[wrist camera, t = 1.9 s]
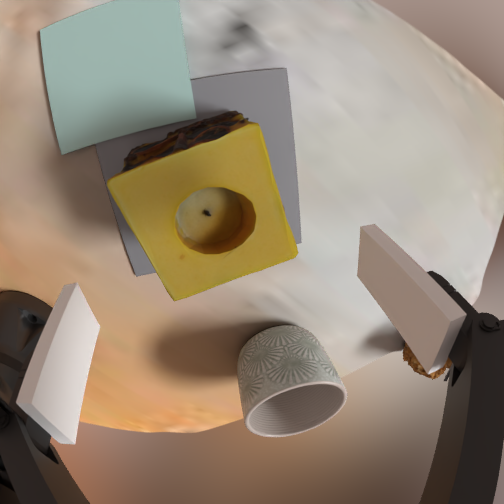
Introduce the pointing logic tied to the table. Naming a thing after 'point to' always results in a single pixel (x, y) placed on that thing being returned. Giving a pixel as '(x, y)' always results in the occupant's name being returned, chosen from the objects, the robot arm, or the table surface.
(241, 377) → the planter
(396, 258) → the robot arm
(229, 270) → the candle
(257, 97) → the gray mat
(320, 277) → the table surface
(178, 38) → the pad
